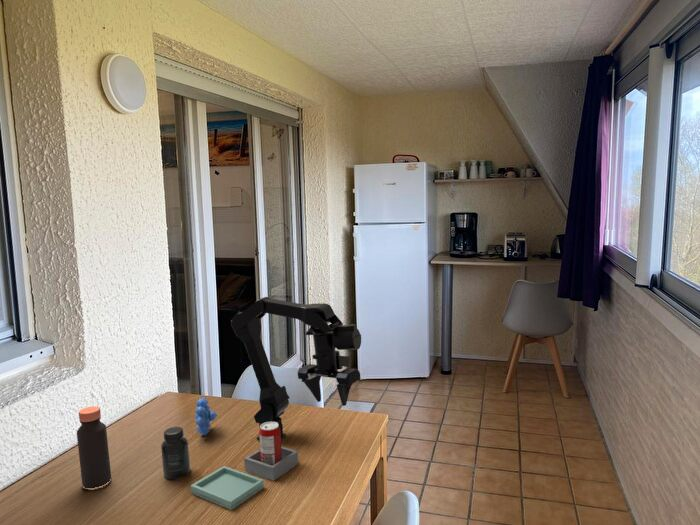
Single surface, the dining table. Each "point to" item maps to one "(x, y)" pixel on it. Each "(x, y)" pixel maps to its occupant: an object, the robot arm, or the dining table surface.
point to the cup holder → (269, 471)
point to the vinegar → (93, 448)
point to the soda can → (270, 443)
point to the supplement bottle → (175, 454)
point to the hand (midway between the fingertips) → (331, 403)
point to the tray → (227, 487)
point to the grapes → (204, 416)
